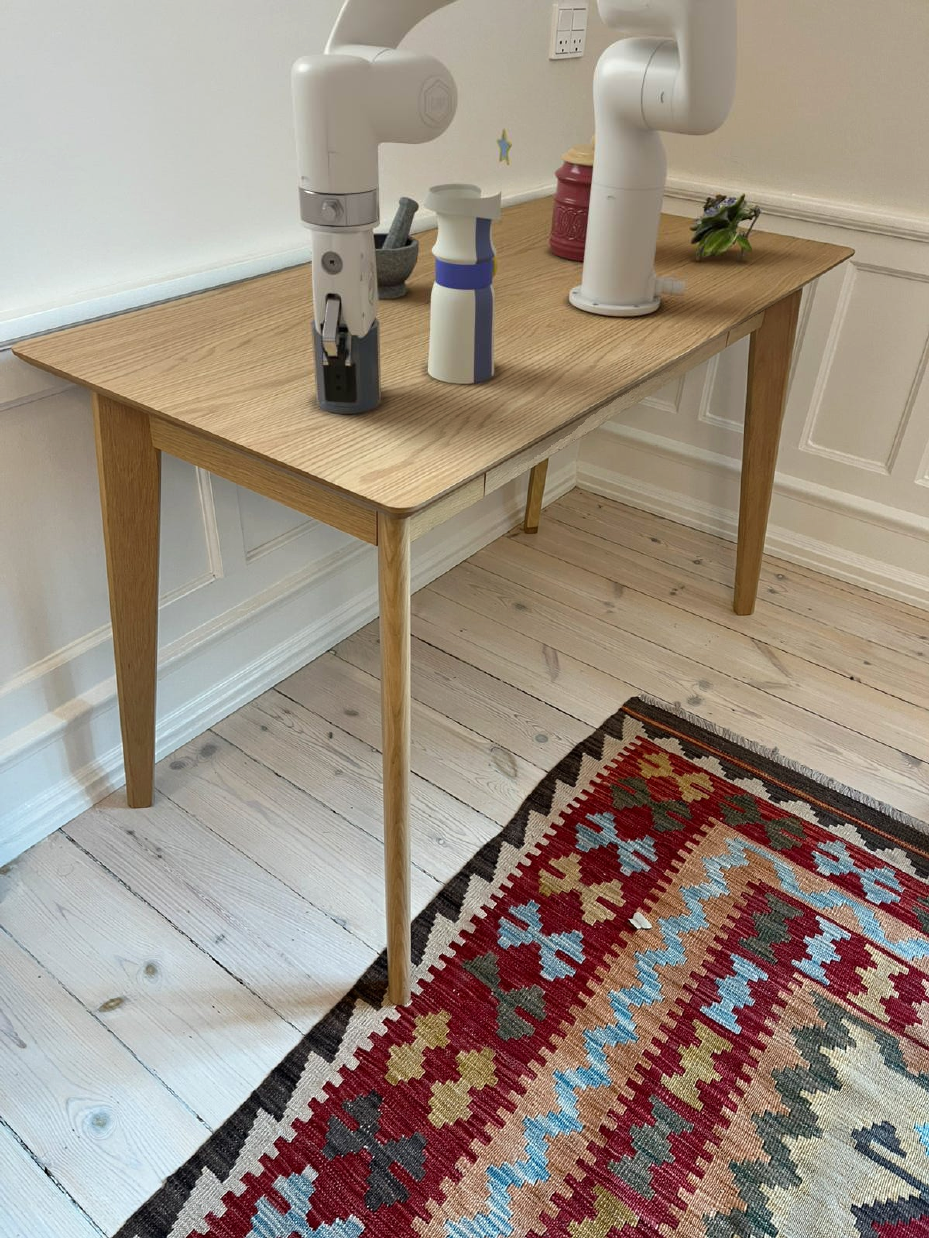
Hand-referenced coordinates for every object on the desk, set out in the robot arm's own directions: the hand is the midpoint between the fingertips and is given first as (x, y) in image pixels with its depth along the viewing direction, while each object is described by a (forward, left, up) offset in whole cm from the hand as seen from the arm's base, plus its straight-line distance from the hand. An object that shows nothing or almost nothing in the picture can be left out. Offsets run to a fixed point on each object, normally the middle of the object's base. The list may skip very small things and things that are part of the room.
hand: (348, 386), depth 98 cm
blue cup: (0, 0, -2) cm, 2 cm away
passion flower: (-49, -69, -2) cm, 85 cm away
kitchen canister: (-27, -67, -2) cm, 72 cm away
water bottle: (-11, -11, -2) cm, 16 cm away
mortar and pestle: (+2, -40, -2) cm, 40 cm away
